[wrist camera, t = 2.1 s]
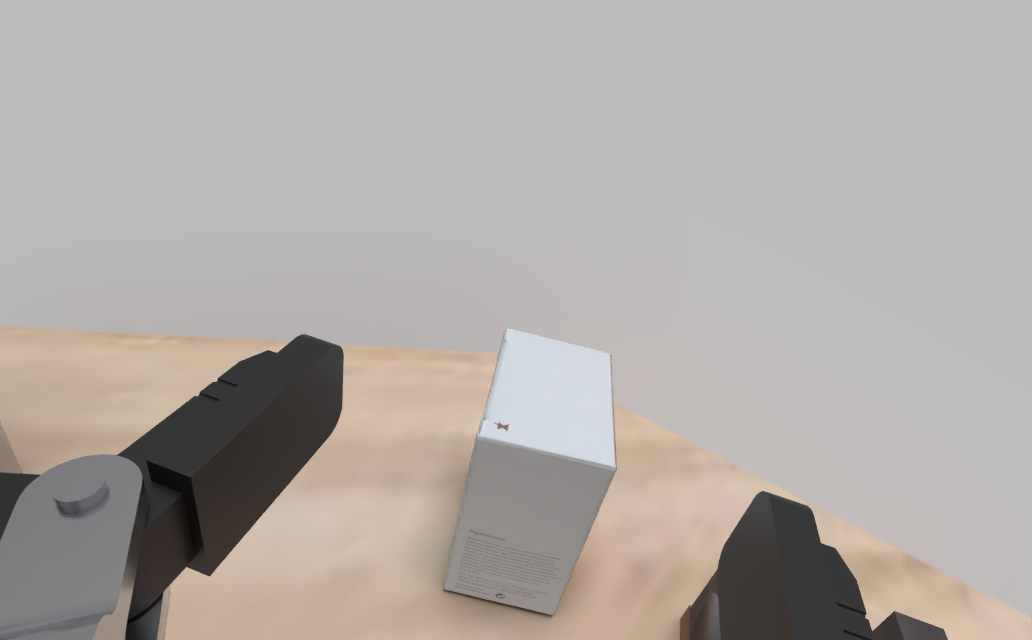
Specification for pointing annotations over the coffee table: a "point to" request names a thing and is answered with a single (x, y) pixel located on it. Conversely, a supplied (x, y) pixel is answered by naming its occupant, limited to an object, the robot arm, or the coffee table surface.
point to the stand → (701, 623)
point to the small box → (535, 473)
